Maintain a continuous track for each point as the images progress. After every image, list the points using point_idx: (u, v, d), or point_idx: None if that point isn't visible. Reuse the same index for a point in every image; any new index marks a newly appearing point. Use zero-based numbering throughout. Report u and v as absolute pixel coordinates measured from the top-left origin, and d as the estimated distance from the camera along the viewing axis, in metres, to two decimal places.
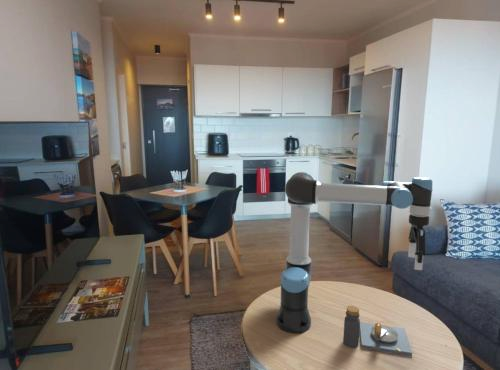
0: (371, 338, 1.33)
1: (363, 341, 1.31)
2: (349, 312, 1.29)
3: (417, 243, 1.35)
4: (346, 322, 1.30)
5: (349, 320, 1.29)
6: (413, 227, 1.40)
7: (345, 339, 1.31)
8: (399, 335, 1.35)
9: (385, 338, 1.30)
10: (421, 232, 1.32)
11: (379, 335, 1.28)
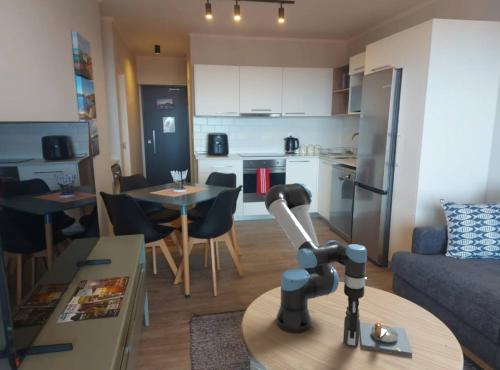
0: (371, 338, 1.33)
1: (363, 341, 1.31)
2: (349, 312, 1.29)
3: (350, 318, 1.27)
4: (346, 322, 1.30)
5: None
6: (349, 296, 1.31)
7: (345, 339, 1.31)
8: (399, 335, 1.35)
9: (385, 338, 1.30)
10: (353, 310, 1.23)
11: (379, 335, 1.28)
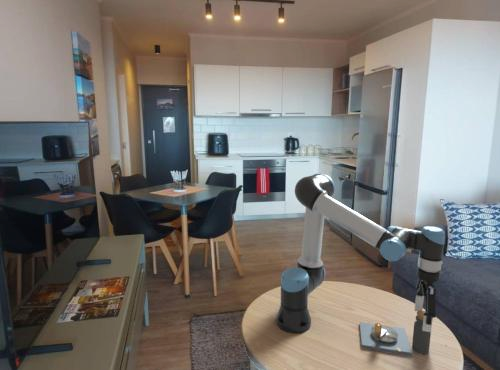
0: (371, 338, 1.33)
1: (363, 341, 1.31)
2: (420, 317, 1.25)
3: (426, 302, 1.20)
4: (417, 328, 1.26)
5: (420, 326, 1.26)
6: (421, 281, 1.25)
7: (415, 345, 1.27)
8: (399, 335, 1.35)
9: (385, 338, 1.30)
10: (431, 291, 1.17)
11: (379, 335, 1.28)
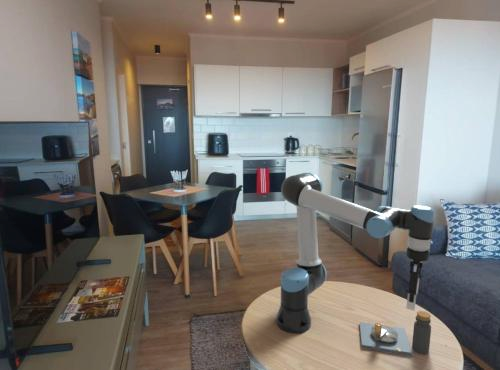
0: (371, 338, 1.33)
1: (363, 341, 1.31)
2: (420, 317, 1.25)
3: None
4: (417, 328, 1.26)
5: (420, 326, 1.25)
6: (412, 261, 1.25)
7: (415, 345, 1.27)
8: (399, 335, 1.35)
9: (385, 338, 1.30)
10: (415, 268, 1.18)
11: (379, 335, 1.28)
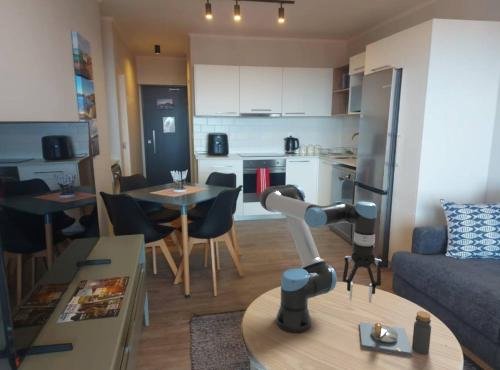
0: (371, 338, 1.33)
1: (363, 341, 1.31)
2: (420, 318, 1.25)
3: None
4: (417, 328, 1.26)
5: (420, 326, 1.25)
6: None
7: (415, 345, 1.27)
8: (399, 335, 1.35)
9: (385, 338, 1.30)
10: None
11: (379, 335, 1.28)
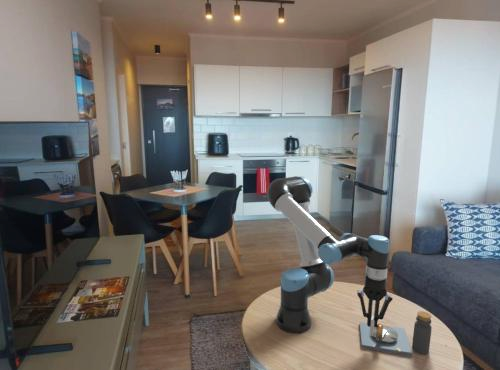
0: (371, 338, 1.33)
1: (363, 341, 1.31)
2: (421, 318, 1.25)
3: (368, 305, 1.29)
4: (417, 328, 1.26)
5: (421, 326, 1.25)
6: None
7: (415, 345, 1.27)
8: (399, 335, 1.35)
9: (386, 338, 1.30)
10: None
11: (381, 336, 1.28)
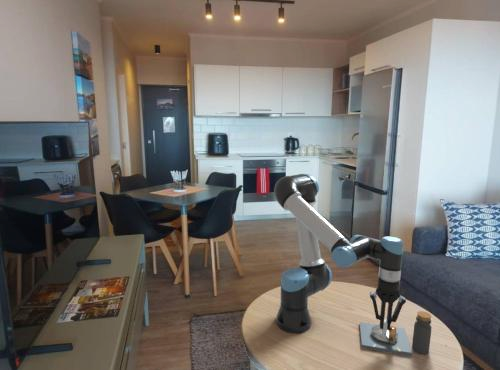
0: (371, 338, 1.33)
1: (363, 341, 1.31)
2: (421, 318, 1.25)
3: (381, 307, 1.27)
4: (417, 328, 1.26)
5: (421, 326, 1.25)
6: None
7: (415, 345, 1.27)
8: (399, 335, 1.35)
9: None
10: None
11: (395, 337, 1.27)
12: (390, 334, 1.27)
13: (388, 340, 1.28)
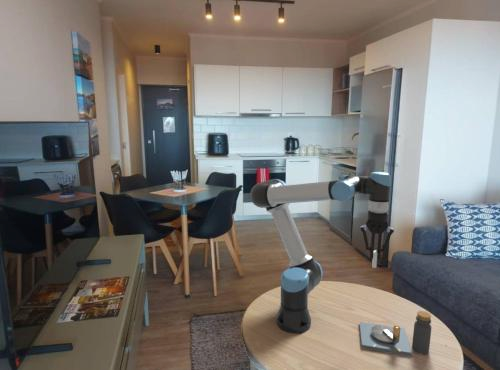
0: (371, 338, 1.33)
1: (363, 341, 1.31)
2: (421, 318, 1.25)
3: None
4: (417, 328, 1.26)
5: (421, 326, 1.25)
6: None
7: (415, 345, 1.27)
8: None
9: None
10: None
11: None
12: (395, 334, 1.27)
13: (392, 340, 1.28)
